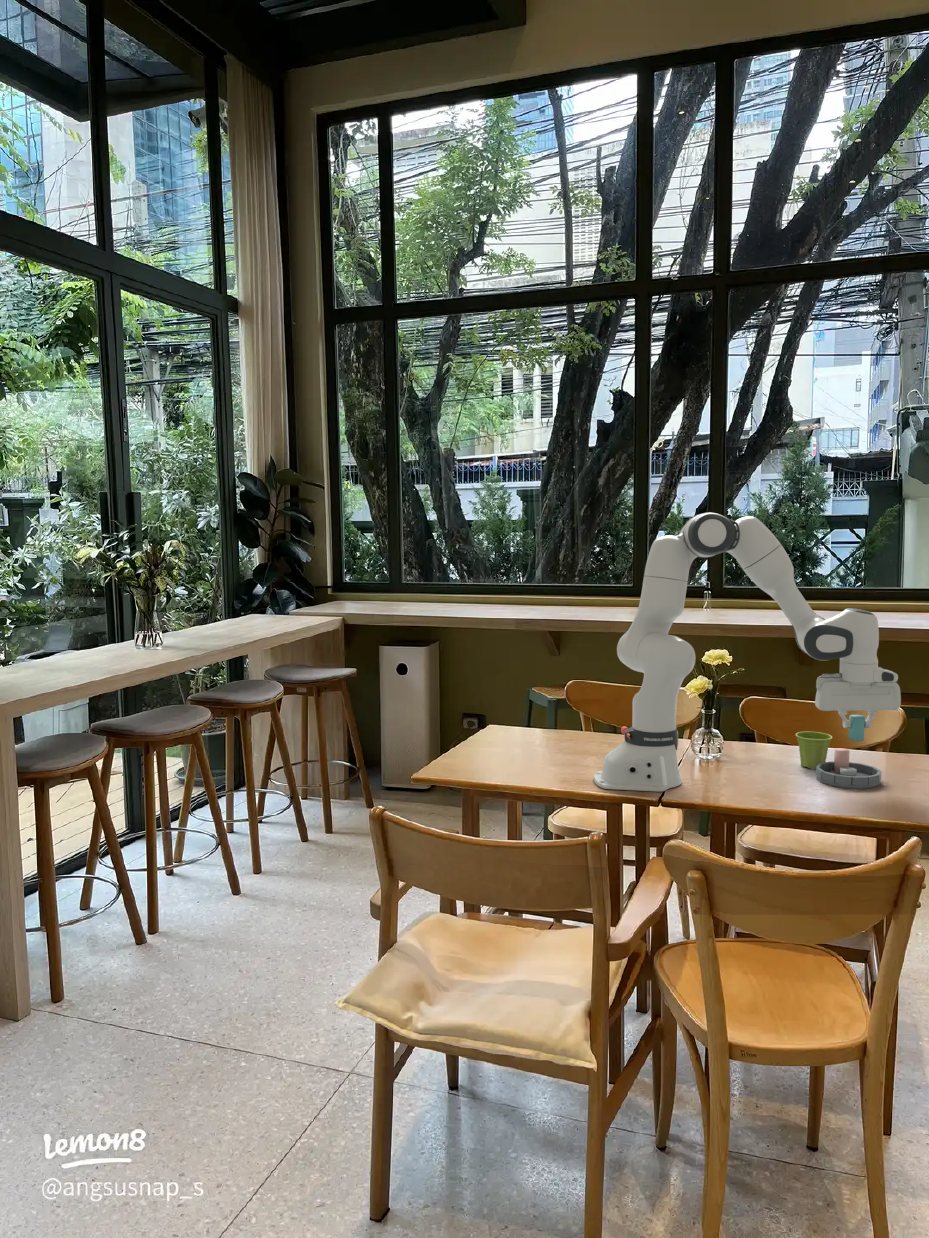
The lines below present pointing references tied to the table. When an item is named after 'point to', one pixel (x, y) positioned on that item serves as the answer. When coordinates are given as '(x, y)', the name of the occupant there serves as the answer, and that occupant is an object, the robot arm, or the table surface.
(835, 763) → the pink cylinder
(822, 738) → the plant pot
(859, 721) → the teal block
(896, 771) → the table surface
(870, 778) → the groove tray
